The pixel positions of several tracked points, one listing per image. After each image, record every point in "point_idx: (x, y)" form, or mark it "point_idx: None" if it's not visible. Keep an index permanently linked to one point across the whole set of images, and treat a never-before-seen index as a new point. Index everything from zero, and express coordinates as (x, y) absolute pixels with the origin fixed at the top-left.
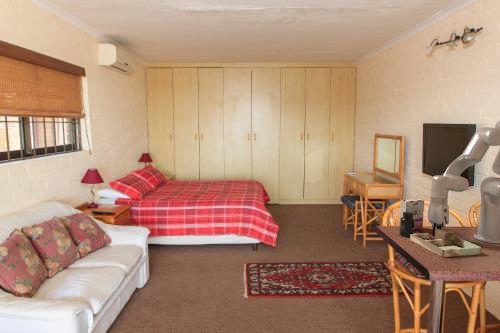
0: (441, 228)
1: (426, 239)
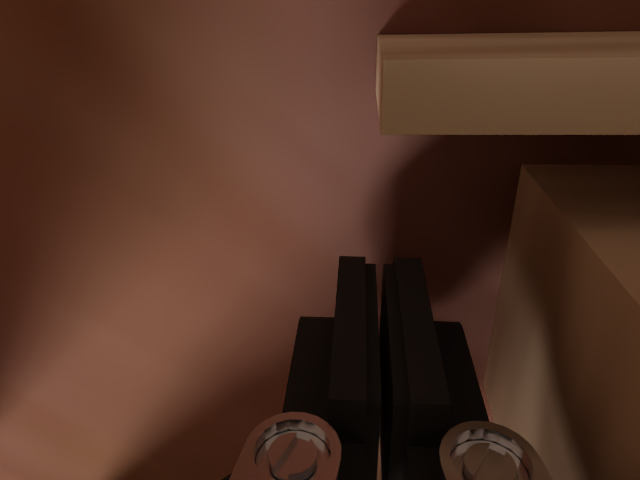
0: (536, 456)
1: None
